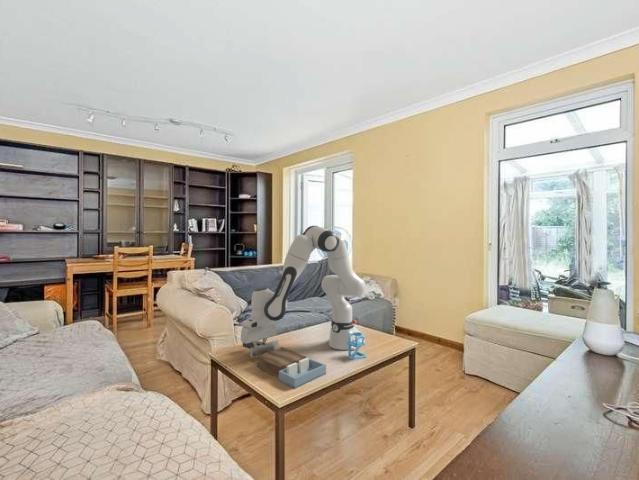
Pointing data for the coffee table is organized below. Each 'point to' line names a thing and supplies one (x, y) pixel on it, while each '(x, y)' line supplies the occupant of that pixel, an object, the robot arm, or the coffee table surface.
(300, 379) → the box
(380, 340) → the coffee table surface
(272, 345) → the scraper
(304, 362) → the tile
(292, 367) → the tile
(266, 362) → the plate
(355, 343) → the light blue open frame
